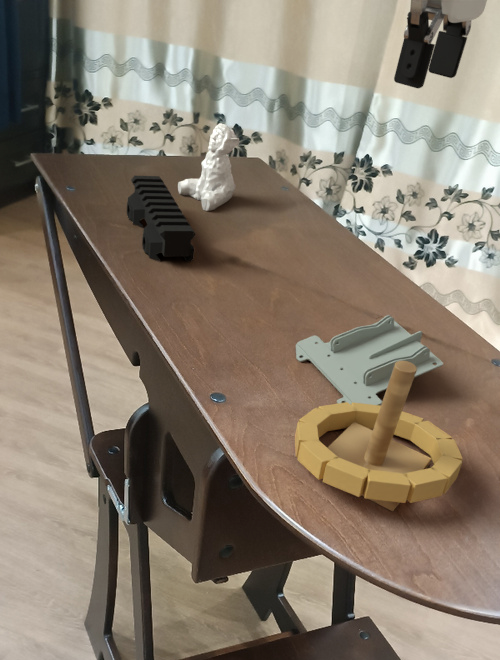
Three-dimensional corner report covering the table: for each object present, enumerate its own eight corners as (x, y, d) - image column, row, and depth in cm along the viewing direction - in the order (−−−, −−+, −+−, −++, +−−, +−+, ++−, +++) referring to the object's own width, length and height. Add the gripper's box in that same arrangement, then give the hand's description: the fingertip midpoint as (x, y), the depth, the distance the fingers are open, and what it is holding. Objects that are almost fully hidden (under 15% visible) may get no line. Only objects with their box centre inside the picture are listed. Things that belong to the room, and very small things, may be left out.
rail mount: (123, 207, 115) (124, 175, 112) (162, 208, 117) (164, 176, 114) (151, 265, 100) (153, 230, 97) (195, 265, 102) (198, 231, 99)
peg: (428, 467, 73) (469, 367, 65) (392, 511, 67) (433, 407, 59) (351, 430, 77) (382, 330, 69) (311, 469, 71) (339, 365, 63)
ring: (475, 454, 74) (480, 437, 73) (422, 523, 62) (428, 504, 61) (336, 405, 81) (340, 389, 79) (266, 459, 69) (268, 441, 68)
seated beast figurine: (174, 192, 123) (180, 116, 115) (214, 186, 127) (222, 113, 119) (205, 212, 118) (214, 134, 110) (246, 206, 122) (257, 130, 114)
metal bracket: (387, 294, 89) (463, 357, 79) (386, 333, 93) (457, 397, 83) (286, 335, 86) (351, 404, 77) (289, 373, 91) (351, 443, 81)
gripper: (491, -127, 60) (427, 99, 71) (545, -114, 71) (482, 79, 83) (410, -139, 63) (360, 80, 74) (475, -125, 74) (423, 64, 85)
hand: (425, 79), depth 78 cm, fingers open, 9 cm apart
